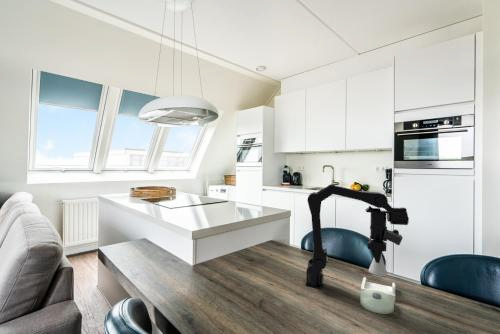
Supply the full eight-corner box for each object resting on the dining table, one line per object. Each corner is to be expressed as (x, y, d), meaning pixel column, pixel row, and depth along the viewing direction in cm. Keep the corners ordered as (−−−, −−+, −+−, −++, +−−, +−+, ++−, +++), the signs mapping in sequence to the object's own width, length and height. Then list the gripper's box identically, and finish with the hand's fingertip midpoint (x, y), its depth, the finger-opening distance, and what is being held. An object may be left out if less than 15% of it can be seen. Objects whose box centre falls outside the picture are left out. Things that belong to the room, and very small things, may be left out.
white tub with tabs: (357, 308, 92) (357, 297, 92) (363, 282, 113) (363, 273, 113) (395, 317, 87) (395, 305, 87) (395, 288, 107) (394, 279, 107)
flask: (390, 277, 100) (391, 252, 100) (370, 275, 102) (371, 250, 101) (384, 270, 107) (384, 246, 107) (366, 268, 109) (366, 245, 108)
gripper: (401, 231, 92) (401, 274, 92) (400, 221, 108) (400, 258, 109) (368, 227, 98) (367, 268, 98) (371, 218, 114) (371, 253, 114)
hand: (377, 261), depth 104 cm, fingers closed on flask, 3 cm apart
